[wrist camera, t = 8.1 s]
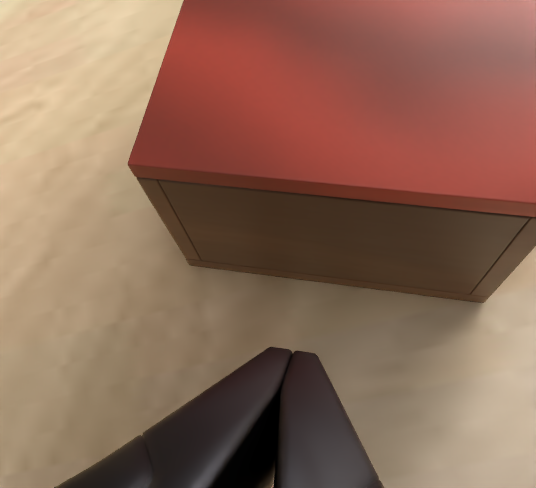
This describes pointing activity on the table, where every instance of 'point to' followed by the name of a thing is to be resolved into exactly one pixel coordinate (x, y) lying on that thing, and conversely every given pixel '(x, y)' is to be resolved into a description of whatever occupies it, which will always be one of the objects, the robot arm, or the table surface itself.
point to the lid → (350, 101)
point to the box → (343, 239)
